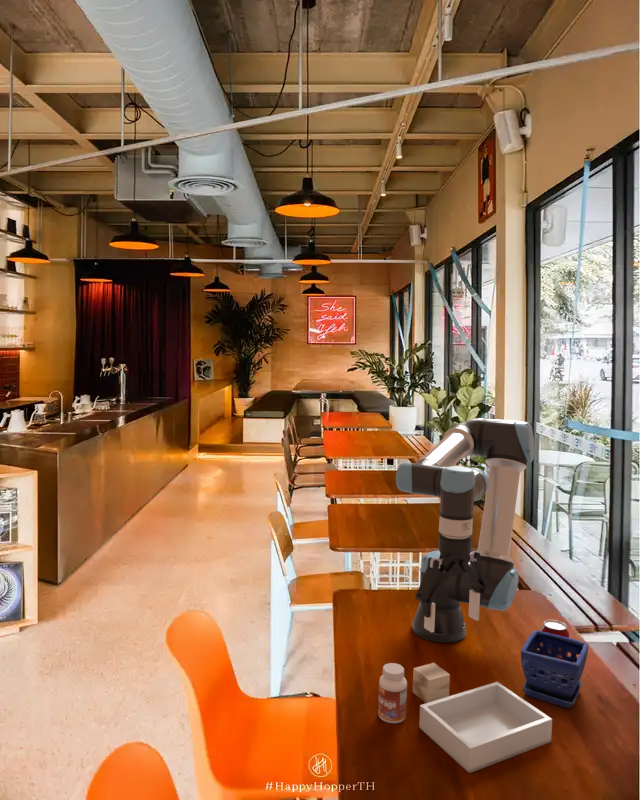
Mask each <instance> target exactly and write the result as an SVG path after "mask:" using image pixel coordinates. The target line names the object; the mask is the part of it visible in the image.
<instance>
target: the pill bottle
mask: <svg viewBox="0 0 640 800" xmlns="http://www.w3.org/2000/svg"><path fill="white" fill-rule="evenodd" d="M378 683H379V684H378V700H377V701H378V706H377V713H378V717H379V718H380V720H382V721H383V722H385V723H388V724H399V723H402V722H403V721H405V719H406V716H407V697H408V695H407V693H408V692H407V691H408V681H407V679H406V678H405V668H404V667H403V666H402V665H401V664H399V663H395V662H389V663H385V664H384V665H383V666H382V675H381V676H380V677H379V682H378Z"/></svg>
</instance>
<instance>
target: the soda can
mask: <svg viewBox="0 0 640 800" xmlns="http://www.w3.org/2000/svg"><path fill="white" fill-rule="evenodd" d="M540 631H542V632H546V633H550V634H555V635H559V636H563V637H567V638H570V633H569V630H568V626H567V625H566V623H564V622H562V621H559V620H556V619H555V620H554V619H547V620H545V621H543V625H542V626H541V627H540ZM541 645H542V646H544V643H541ZM559 650H562V648H559ZM548 652H550V653H552V650H551V649H548ZM543 655H544V656H546V655H545V654H543ZM566 655H567V656H569V652H567V653H566ZM555 658H557V659H561V660H564V659H563V657H562V655H560V654H559V655H556V656H555Z"/></svg>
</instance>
